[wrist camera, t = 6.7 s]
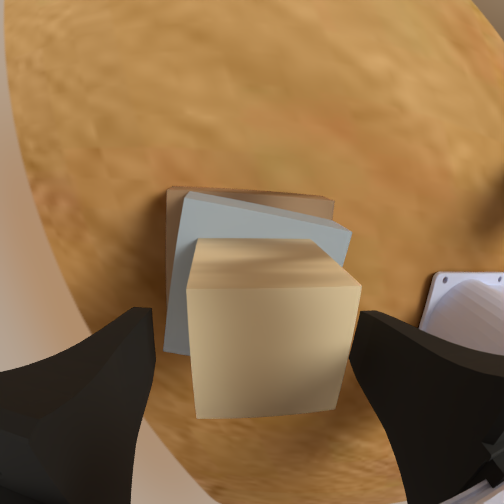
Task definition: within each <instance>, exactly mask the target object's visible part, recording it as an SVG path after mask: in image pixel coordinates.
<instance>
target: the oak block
mask: <svg viewBox="0 0 504 504" xmlns="http://www.w3.org/2000/svg"><path fill="white" fill-rule="evenodd" d="M361 288H362V285H361V284H359V283H358V282H357V281H356V280H355V279H354V278H353V277H352V276H351V275H350V274H349V273H348V272H347V271H345V270H344V269H343V268H342V267H341V266H340V265H339V264H338V263H337V262H336V261H335V260H333V259H332V258H331V257H330V256H329V255H328V254H327V253H326V252H325V251H323V250H322V249H321V248H320V247H319V246H318V245H317V244H316V243H315V242H313V241H312V240H311V239H281V238H198V240H197V244H196V249H195V253H194V257H193V261H192V266H191V270H190V274H189V279H188V283H187V288H186V294H187V313H188V329H189V343H190V356H191V368H192V379H193V389H194V399H195V408H196V417H197V419H222V418H253V417H269V416H282V415H293V414H302V413H311V412H319V411H326V410H333V409H335V407H336V404H337V400H338V396H339V392H340V389H341V385H342V381H343V377H344V372H345V368H346V364H347V360H348V355H349V351H350V346H351V341H352V336H353V332H354V327H355V321H356V316H357V311H358V305H359V300H360V294H361Z"/></svg>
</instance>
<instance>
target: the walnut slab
mask: <svg viewBox="0 0 504 504" xmlns="http://www.w3.org/2000/svg"><path fill="white" fill-rule="evenodd" d="M189 191H192V192H198V193H203V194H209V195H214V196H219V197H225V198H230V199H235V200H240V201H245V202H250V203H255V204H260V205H265V206H269V207H274V208H279V209H284V210H288V211H293V212H297V213H302V214H306V215H311V216H315V217H320V218H324V219H328V220H332V218H333V210H334V202H335V201H333V200H331V199H328V198H326V197H323V196H316V195H306V194H295V193H283V192H271V191H257V190H242V189H226V188H207V187H183V186H172V187H170V188H169V189H167V203H166V303H167V310H168V302H169V294H170V286H171V278H172V271H173V264H174V257H175V251H176V244H177V238H178V232H179V226H180V220H181V214H182V208H183V202H184V198H185V196H186V195H187V194H188V193H189Z"/></svg>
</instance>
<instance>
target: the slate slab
mask: <svg viewBox="0 0 504 504" xmlns="http://www.w3.org/2000/svg"><path fill="white" fill-rule="evenodd" d="M351 235H352V232H351V231H350V230H348V229H346V228H345V227H343V226H341V225H339V224H338V223H336V222H334V221H332V220H328V219H324V218H320V217H315V216H311V215H306V214H302V213H297V212H293V211H288V210H284V209H279V208H274V207H269V206H265V205H260V204H255V203H250V202H245V201H240V200H235V199H230V198H225V197H219V196H214V195H209V194H203V193H198V192H192V191H189V193H188V194H187V195H186V196H185V198H184V202H183V208H182V214H181V220H180V226H179V232H178V238H177V244H176V251H175V257H174V264H173V271H172V278H171V286H170V294H169V302H168V310H167V319H166V328H165V338H164V348H163V351H165V352H170V353H176V354H182V355H189V356H190V343H189V329H188V313H187V294H186V288H187V283H188V279H189V274H190V270H191V266H192V261H193V257H194V253H195V249H196V244H197V240H198V238H281V239H311V240H312V241H313V242H315V243H316V244H317V245H318V246H319V247H320V248H321V249H322V250H323V251H325V252H326V253H327V254H328V255H329V256H330V257H331V258H332V259H333V260H335V261H336V262H337V263H338V264H339V265H340V266H341V267H342V266H343V263H344V260H345V256H346V253H347V249H348V246H349V242H350V239H351Z"/></svg>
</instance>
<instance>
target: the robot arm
mask: <svg viewBox="0 0 504 504" xmlns="http://www.w3.org/2000/svg"><path fill="white" fill-rule="evenodd" d="M444 277H445V279H444ZM443 279H444V280H443ZM349 360H350V363H351V366H352V368H353V371H354V374H355V376H356V379H357V381H358V383H359V384H360V386H361V388H362V390H363V392H364V393H365V395H366V397H367V399H368V400H369V402H370V404H371V406H372V407H373V409H374V411H375V413H376V414H377V416H378V418H379V420H380V421H381V423H382V425H383V427H384V429H385V431H386V434H387V436H388V439H389V441H390V444H391V446H392V449H393V452H394V455H395V458H396V461H397V464H398V467H399V470H400V473H401V477H402V481H403V485H404V489H405V493H406V498H407V503H408V504H504V272H437V273H435V275H434V276H433V279H432V283H431V287H430V290H429V294H428V298H427V302H426V305H425V309H424V312H423V315H422V319H421V322H420V325H419V328H416V327H414V326H411V325H409V324H407V323H405V322H403V321H401V320H399V319H396V318H394V317H392V316H389V315H387V314H384V313H382V312H379V311H360V315H359V320H358V324H357V328H356V332H355V336H354V340H353V344H352V348H351V351H350V355H349ZM155 362H156V355H155V344H154V332H153V319H152V308H142V307H133V308H131V309H130V310H128V311H127V312H125V313H124V314H122V315H121V316H120V317H118V318H117V319H115V320H114V321H112V322H111V323H109V324H108V325H107V326H105V327H104V328H102V329H101V330H99V331H98V332H96V333H94V334H93V335H91V336H90V337H88V338H86V339H85V340H83V341H82V342H80V343H78V344H76V345H75V346H72V347H70V348H69V349H67V350H64V351H62V352H60V353H58V354H56V355H54V356H51V357H49V358H46V359H43V360H40V361H38V362H35V363H32V364H29V365H26V366H23V367H19V368H16V369H12V370H7V371H3V372H0V504H131V503H130V502H131V486H132V485H131V484H132V474H133V464H134V456H135V448H136V441H137V437H138V432H139V429H140V425H141V421H142V418H143V414H144V411H145V407H146V404H147V400H148V397H149V393H150V390H151V386H152V382H153V376H154V369H155Z"/></svg>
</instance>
